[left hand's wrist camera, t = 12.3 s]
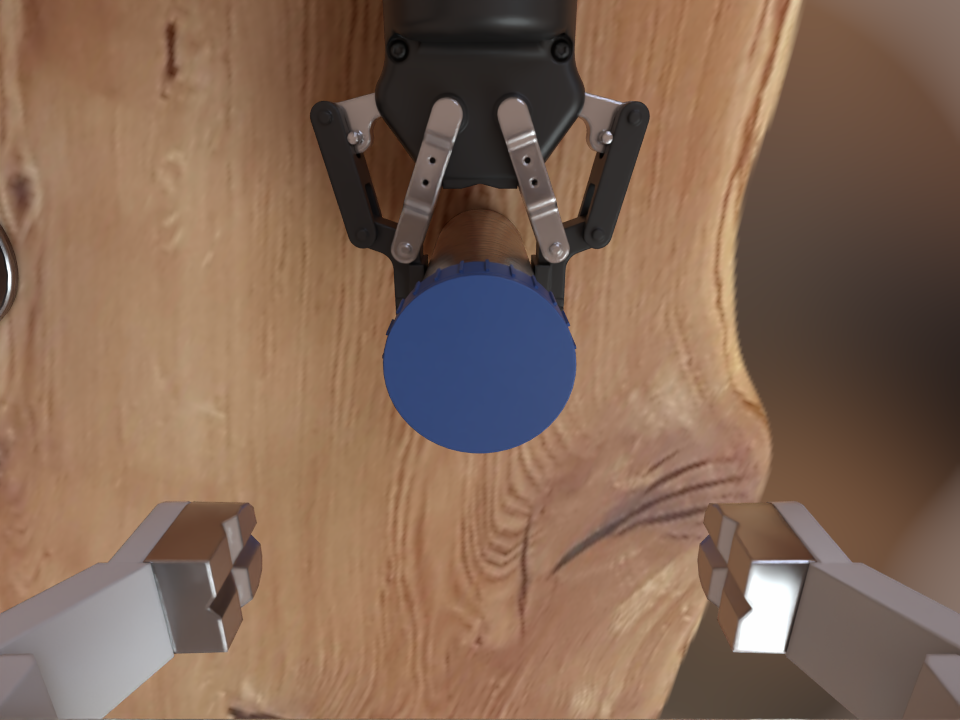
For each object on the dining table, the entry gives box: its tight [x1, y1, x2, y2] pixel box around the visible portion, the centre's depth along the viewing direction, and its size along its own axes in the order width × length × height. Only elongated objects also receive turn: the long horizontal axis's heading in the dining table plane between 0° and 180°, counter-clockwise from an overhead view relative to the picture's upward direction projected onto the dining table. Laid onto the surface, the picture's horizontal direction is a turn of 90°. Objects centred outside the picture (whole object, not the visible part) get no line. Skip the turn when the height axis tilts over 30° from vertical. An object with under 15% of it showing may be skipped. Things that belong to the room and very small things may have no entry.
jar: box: [423, 209, 535, 280], centre depth 26 cm, size 5×5×16 cm
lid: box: [382, 259, 576, 453], centre depth 18 cm, size 6×6×2 cm
